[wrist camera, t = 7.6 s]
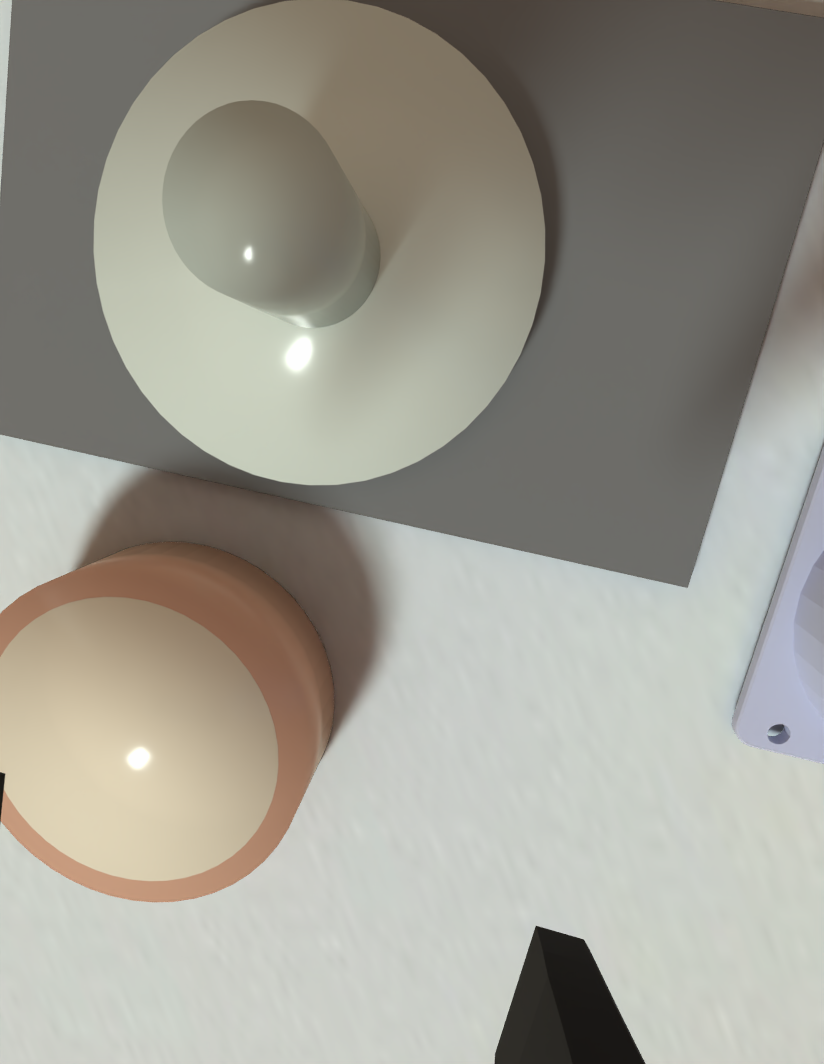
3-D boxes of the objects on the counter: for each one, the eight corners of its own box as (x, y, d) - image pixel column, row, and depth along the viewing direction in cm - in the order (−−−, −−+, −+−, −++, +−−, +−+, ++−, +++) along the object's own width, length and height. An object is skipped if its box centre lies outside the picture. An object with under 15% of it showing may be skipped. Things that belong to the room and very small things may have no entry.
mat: (849, 33, 14) (860, 23, 14) (683, 583, 17) (687, 587, 16) (30, -99, 15) (19, -111, 15) (-4, 430, 18) (-15, 430, 18)
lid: (608, 94, 15) (667, -56, 10) (461, 535, 16) (452, 586, 12) (165, -37, 15) (20, -241, 10) (74, 409, 17) (-83, 410, 12)
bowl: (360, 580, 18) (332, 619, 15) (307, 858, 20) (273, 941, 17) (55, 510, 18) (-29, 534, 15) (31, 786, 20) (-48, 853, 17)
